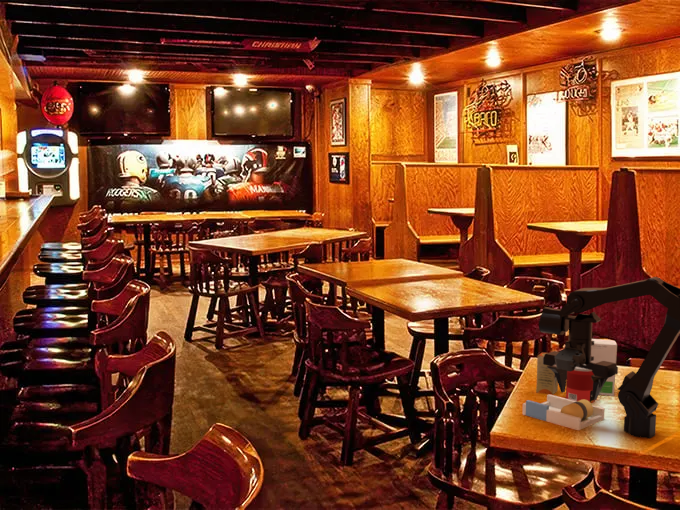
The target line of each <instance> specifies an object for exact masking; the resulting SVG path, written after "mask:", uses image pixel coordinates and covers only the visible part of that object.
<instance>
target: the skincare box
mask: <svg viewBox="0 0 680 510" xmlns="http://www.w3.org/2000/svg"><path fill="white" fill-rule="evenodd" d="M592 341H594V345H592V346H591V356H594V360H593V361H591V362H592V363H598V362H601V361H607V362H612V363H616V364H617V352H618V344H617V342H616V340H611V339H601V338H592ZM615 383H616V375H613V376H612V377H609V378H608V379H607V380H606V382H605V383H604V385H603V387H602V389H601V391H600V393H599V395H601V396H602V395H603V396H611V397H613V396H615V388H616V387H615ZM599 395H598V396H599Z"/></svg>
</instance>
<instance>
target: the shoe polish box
mask: <svg viewBox="0 0 680 510" xmlns="http://www.w3.org/2000/svg"><path fill="white" fill-rule="evenodd" d="M546 353H547V352H544V351H542V352H541V353H540V354H538V355H537V357H536V358H537V361H536V363H537V364H536V368H537V369H536V394H538V393H540V394H547V395H549V394H550V395H555V394H556V393H557V392H558V391H559V390H558V389H559V384H558V381H557V378H556V376H555V374H554V372H553V371H552V370H551V369H549V368H547V366H549V365H544V364H543V357H544V355H545V354H546Z"/></svg>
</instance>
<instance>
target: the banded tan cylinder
mask: <svg viewBox="0 0 680 510" xmlns="http://www.w3.org/2000/svg"><path fill="white" fill-rule="evenodd" d="M592 405H593V403H590V402H589V401H588V400H585V399H583V400H580V401H577V402H574V403H571V404H569V405H566V406H564V407H563V408H562V409H561V413H564V414H568V415H572V416H575V417H579V418H581V420H584V419H586V418H588V417H590V416H592V414H593V406H594V405H593V406H592Z"/></svg>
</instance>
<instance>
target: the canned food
mask: <svg viewBox="0 0 680 510" xmlns="http://www.w3.org/2000/svg"><path fill="white" fill-rule="evenodd" d="M583 365H585V364H583ZM593 375H594V374H593V372H592V370H589V369H584V368H580V367H576V368H575V369H574V370H573V371H567V379H566V388H565V398H566V399H570V400H573V401H580V400H583V399H585V400H588V401H589V402H590V403H591V404H594V403H595V402H596V400H593V396H592V393H593V380H592V378H591V376H593Z"/></svg>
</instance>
